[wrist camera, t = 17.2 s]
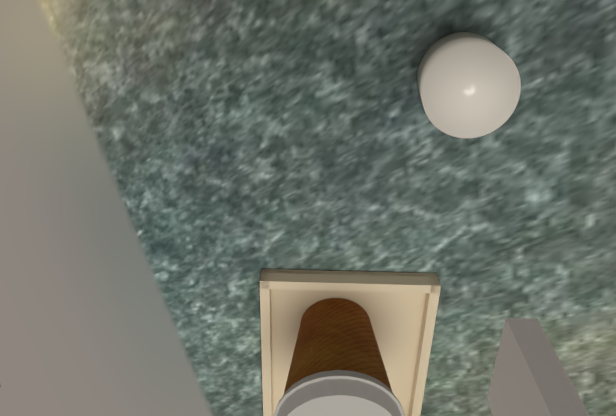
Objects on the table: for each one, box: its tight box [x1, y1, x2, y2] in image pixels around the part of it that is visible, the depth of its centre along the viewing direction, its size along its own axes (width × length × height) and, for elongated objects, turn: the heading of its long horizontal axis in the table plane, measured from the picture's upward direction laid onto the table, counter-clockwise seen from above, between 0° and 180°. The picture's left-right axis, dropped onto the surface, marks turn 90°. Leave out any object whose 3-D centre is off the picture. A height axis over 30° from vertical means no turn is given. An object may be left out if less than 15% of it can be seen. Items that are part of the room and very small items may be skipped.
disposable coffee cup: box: [274, 298, 405, 416], centre depth 44 cm, size 10×10×12 cm
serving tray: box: [260, 269, 441, 416], centre depth 52 cm, size 15×22×2 cm
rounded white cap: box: [417, 32, 521, 138], centre depth 37 cm, size 6×6×5 cm
